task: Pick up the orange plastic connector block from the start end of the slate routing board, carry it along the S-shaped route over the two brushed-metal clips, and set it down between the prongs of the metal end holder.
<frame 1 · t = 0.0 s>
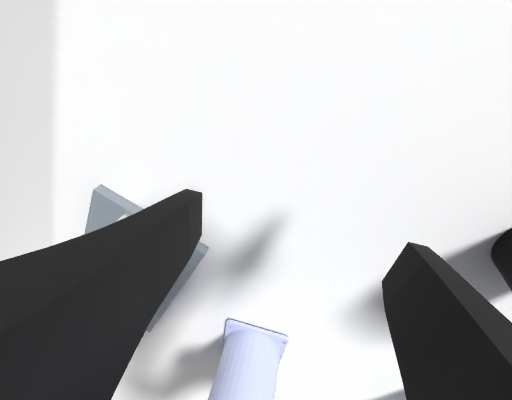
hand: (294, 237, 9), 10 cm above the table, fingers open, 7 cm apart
route board: (132, 270, 30), on the table
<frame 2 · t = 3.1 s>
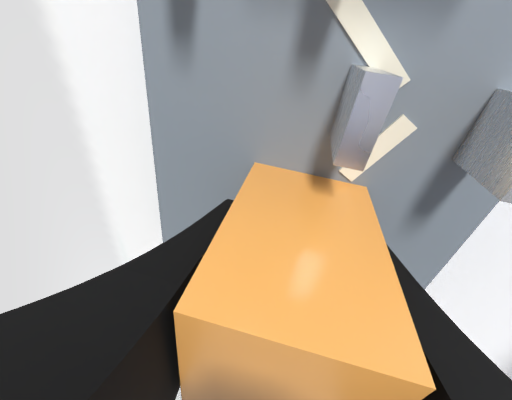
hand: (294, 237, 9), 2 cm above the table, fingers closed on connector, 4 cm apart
clips: (360, 10, 5), on the route board, point 2 cm above the table
route board: (349, 20, 7), on the table
connector: (296, 218, 10), point 1 cm above the table, touching gripper, route board
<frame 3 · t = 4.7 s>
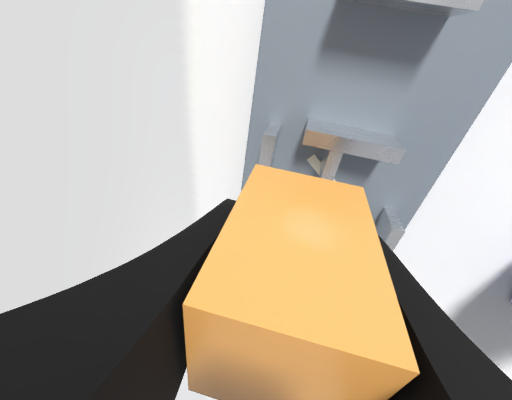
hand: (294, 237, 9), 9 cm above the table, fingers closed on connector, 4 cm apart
clips: (330, 189, 15), on the route board, point 2 cm above the table
route board: (329, 174, 17), on the table
end holder: (372, 77, 12), on the route board, point 2 cm above the table
connector: (296, 217, 10), point 8 cm above the table, touching gripper
when the fingers open (3 cm above the table, at t = 6.8 s): connector stays where it is, resting on route board.
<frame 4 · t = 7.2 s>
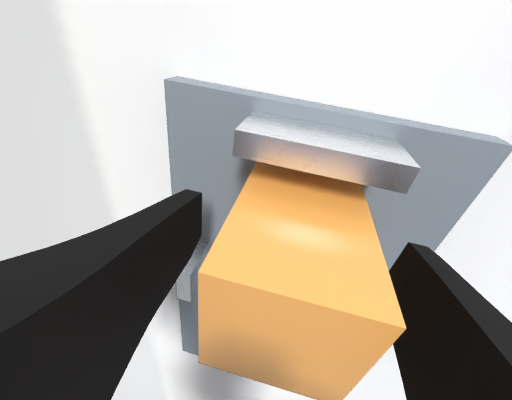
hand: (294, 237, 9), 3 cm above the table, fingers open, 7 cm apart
clips: (269, 313, 13), on the route board, point 2 cm above the table
route board: (275, 281, 15), on the table
end holder: (297, 222, 9), on the route board, point 2 cm above the table
connector: (296, 208, 11), point 1 cm above the table, touching route board
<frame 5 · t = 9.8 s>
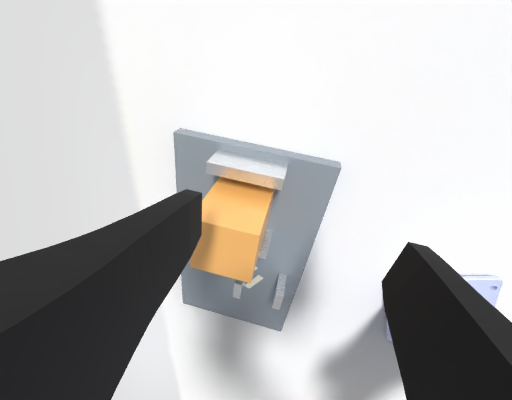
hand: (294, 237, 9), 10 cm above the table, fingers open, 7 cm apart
clips: (235, 264, 22), on the route board, point 2 cm above the table
route board: (242, 247, 23), on the table
end holder: (243, 205, 18), on the route board, point 2 cm above the table
connector: (246, 199, 19), point 1 cm above the table, touching route board
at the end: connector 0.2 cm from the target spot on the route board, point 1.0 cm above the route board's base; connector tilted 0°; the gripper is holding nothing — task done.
